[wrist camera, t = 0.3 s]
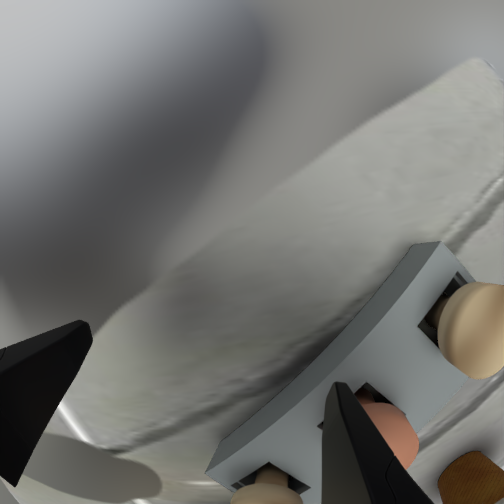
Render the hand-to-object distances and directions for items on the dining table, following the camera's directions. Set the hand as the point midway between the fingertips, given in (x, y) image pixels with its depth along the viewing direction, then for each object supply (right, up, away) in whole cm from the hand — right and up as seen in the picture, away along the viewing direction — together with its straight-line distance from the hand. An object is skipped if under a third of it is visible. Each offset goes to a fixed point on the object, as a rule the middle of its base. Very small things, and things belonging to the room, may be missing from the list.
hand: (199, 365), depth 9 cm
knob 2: (+16, -1, +9) cm, 18 cm away
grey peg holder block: (+10, -8, +12) cm, 17 cm away
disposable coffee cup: (+25, -21, +9) cm, 34 cm away
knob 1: (+4, -15, +11) cm, 18 cm away
